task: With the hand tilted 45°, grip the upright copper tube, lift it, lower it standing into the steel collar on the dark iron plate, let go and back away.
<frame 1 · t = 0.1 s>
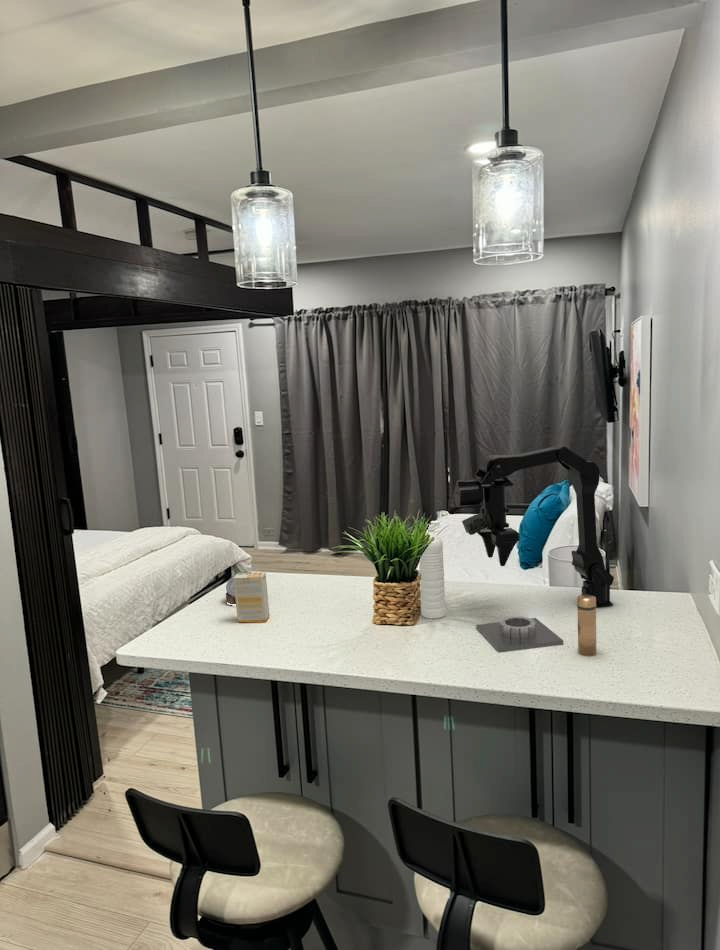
hand: (496, 561, 185), 15 cm above the worktop, tool pointing down, fingers open, 9 cm apart
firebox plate: (518, 636, 171), on the worktop
supplement box: (253, 620, 194), on the worktop
air tube: (587, 652, 159), on the worktop
canned food: (243, 602, 211), on the worktop
water bottle: (435, 614, 191), on the worktop
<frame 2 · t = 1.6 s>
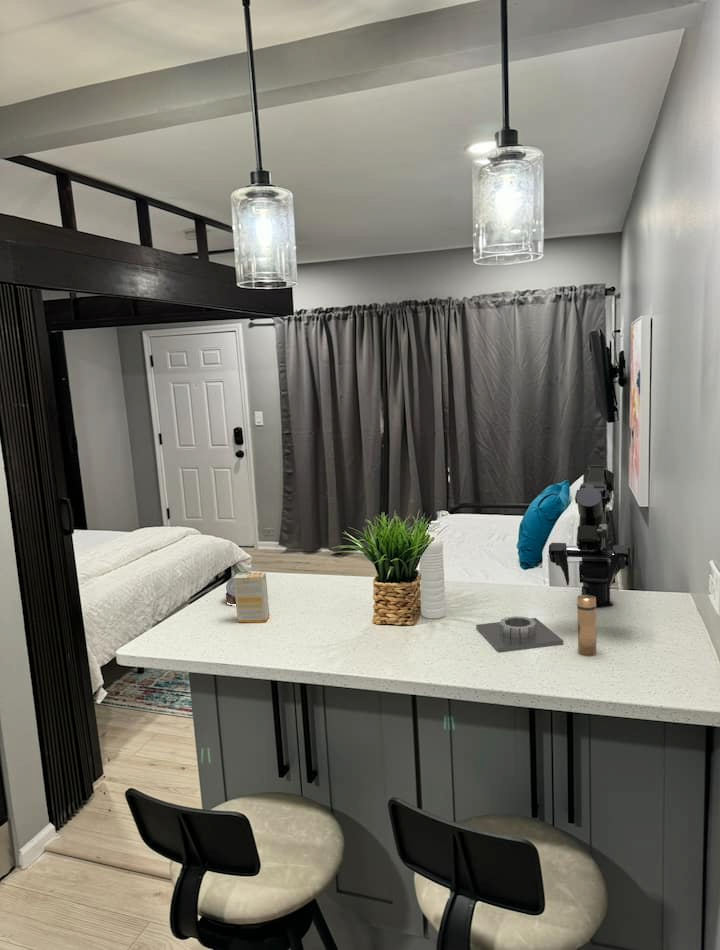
hand: (587, 585, 165), 13 cm above the worktop, tool tilted 45°, fingers open, 9 cm apart
nothing on the worktop moved.
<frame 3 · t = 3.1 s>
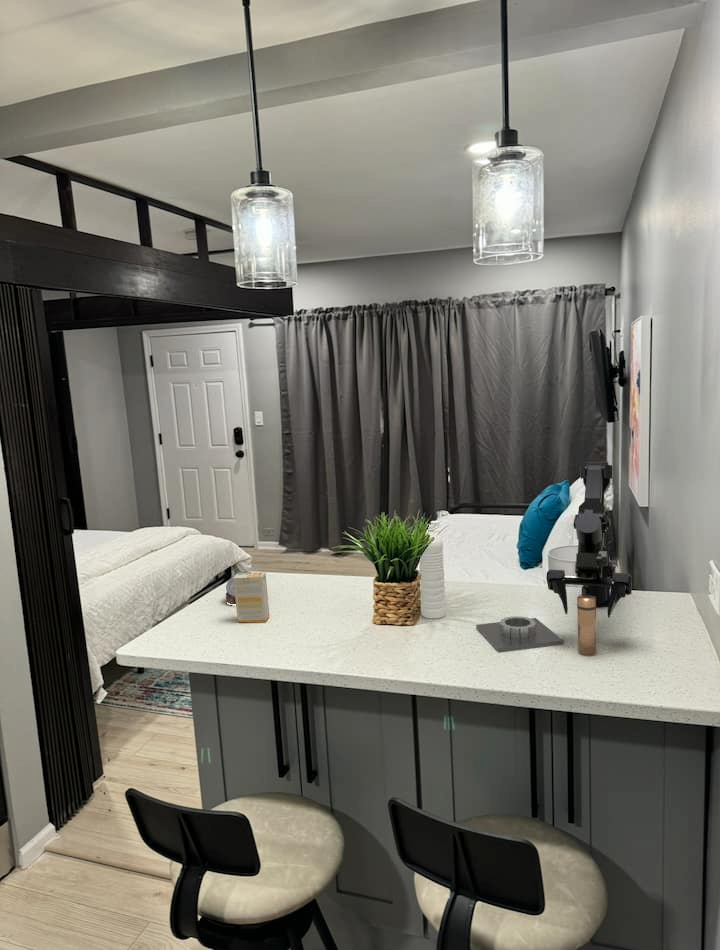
hand: (587, 615, 159), 9 cm above the worktop, tool tilted 45°, fingers open, 9 cm apart
nothing on the worktop moved.
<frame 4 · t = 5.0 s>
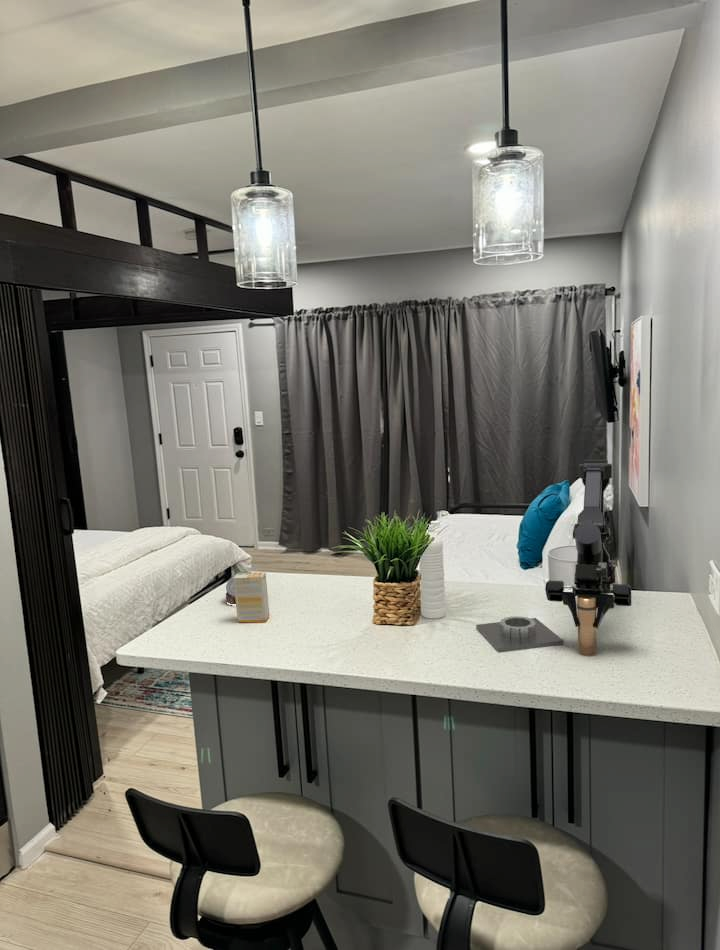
hand: (586, 627, 157), 7 cm above the worktop, tool tilted 45°, fingers closed on air tube, 4 cm apart
air tube: (587, 652, 159), on the worktop, touching gripper
everything else where it was.
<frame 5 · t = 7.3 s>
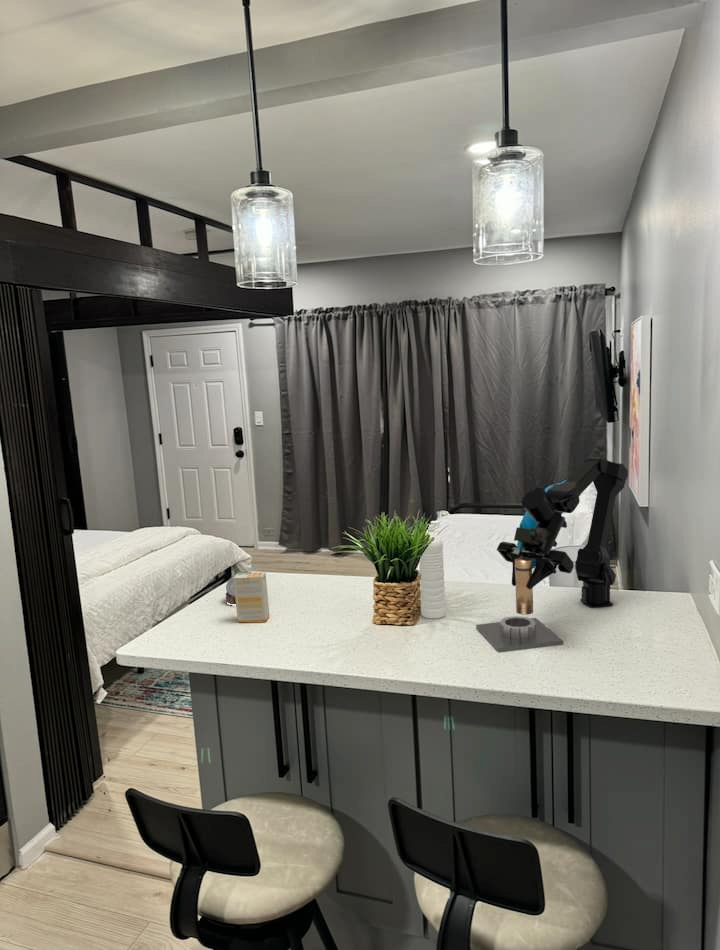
hand: (520, 586, 167), 13 cm above the worktop, tool tilted 45°, fingers closed on air tube, 4 cm apart
air tube: (524, 611, 169), point 7 cm above the worktop, touching gripper
everything else where it was.
when the fingers open (8 cm above the worktop, at t = 9.7 s): air tube stays where it is, resting on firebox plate.
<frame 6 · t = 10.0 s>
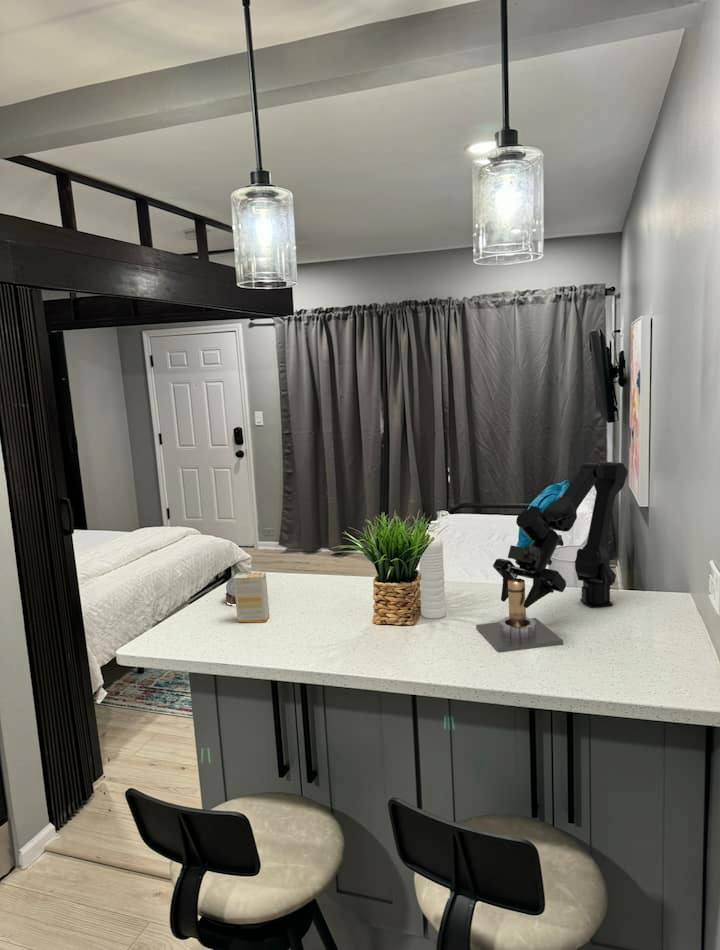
hand: (513, 603, 169), 9 cm above the worktop, tool tilted 45°, fingers open, 7 cm apart
air tube: (518, 632, 171), point 1 cm above the worktop, touching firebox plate
everything else where it was.
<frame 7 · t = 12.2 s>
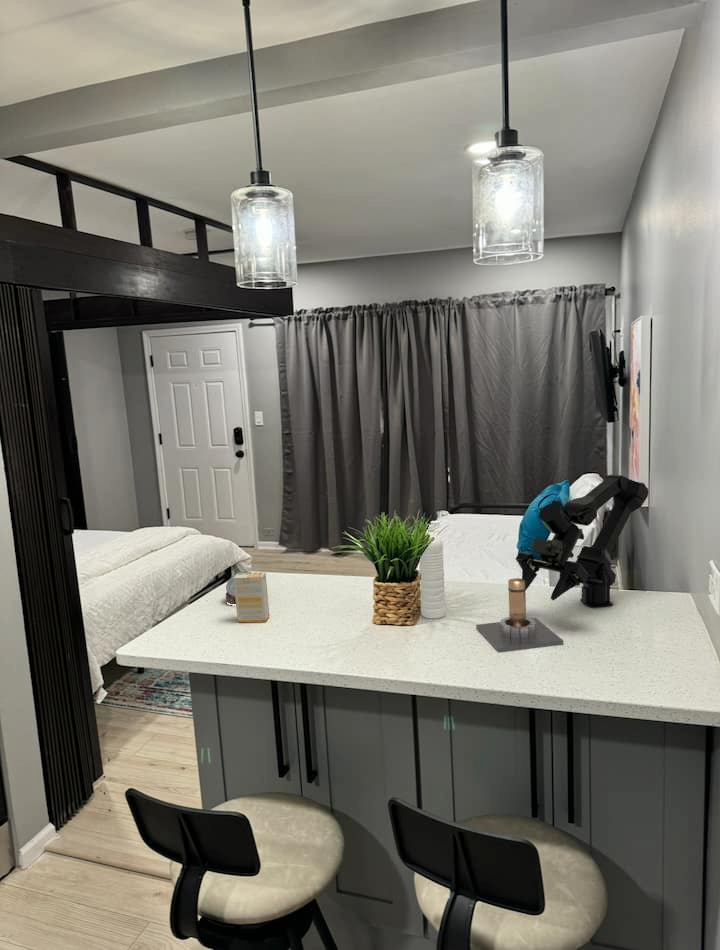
hand: (536, 595, 175), 8 cm above the worktop, tool tilted 45°, fingers open, 9 cm apart
nothing on the worktop moved.
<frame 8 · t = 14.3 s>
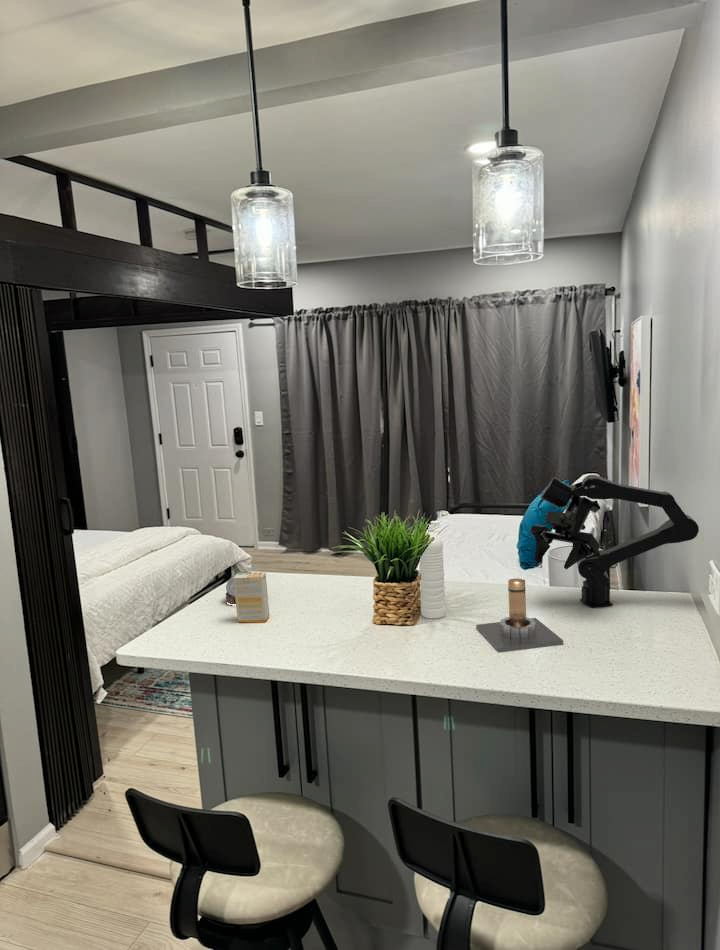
hand: (550, 565, 183), 14 cm above the worktop, tool tilted 45°, fingers open, 9 cm apart
nothing on the worktop moved.
at the end: air tube 0.0 cm off-centre on the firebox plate, point 1.0 cm above the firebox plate's base; air tube tilted 0°; the gripper is holding nothing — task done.
